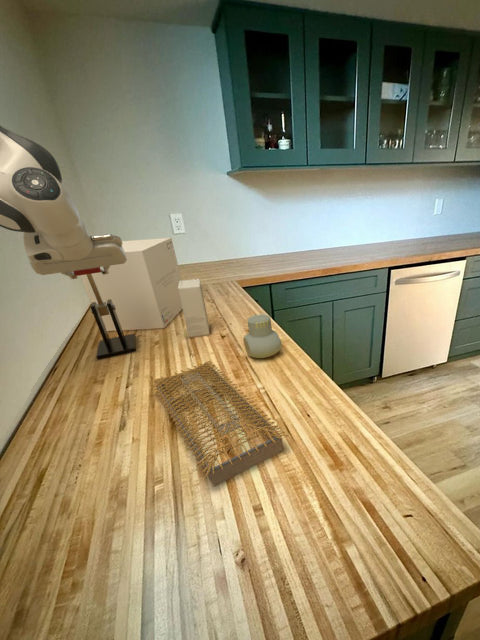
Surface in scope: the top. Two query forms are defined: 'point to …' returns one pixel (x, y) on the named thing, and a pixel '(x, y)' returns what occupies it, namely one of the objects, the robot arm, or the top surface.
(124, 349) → the bracket
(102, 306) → the lever
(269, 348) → the air freshener
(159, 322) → the cube
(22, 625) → the top surface
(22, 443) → the top surface
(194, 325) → the cosmetic box
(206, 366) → the rafter model
